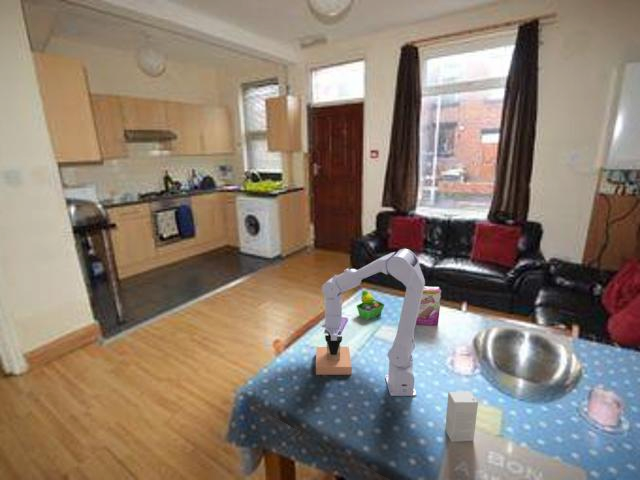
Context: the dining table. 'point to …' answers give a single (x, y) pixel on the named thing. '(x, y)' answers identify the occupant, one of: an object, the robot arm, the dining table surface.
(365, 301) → the fruit basket
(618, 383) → the dining table surface
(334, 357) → the beech block
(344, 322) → the sponges
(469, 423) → the skincare box
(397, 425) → the dining table surface
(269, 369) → the dining table surface
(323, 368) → the terracotta plinth
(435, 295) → the candy bar box
